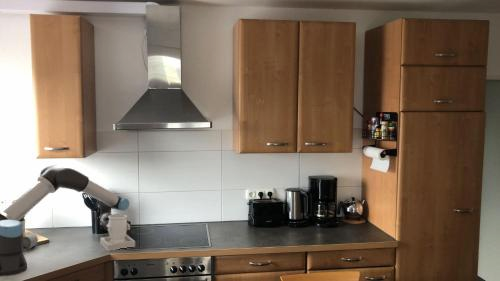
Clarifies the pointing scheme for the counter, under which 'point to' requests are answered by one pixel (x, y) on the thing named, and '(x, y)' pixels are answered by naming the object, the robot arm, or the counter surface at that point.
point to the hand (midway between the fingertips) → (119, 228)
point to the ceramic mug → (29, 241)
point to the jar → (117, 227)
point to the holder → (112, 246)
